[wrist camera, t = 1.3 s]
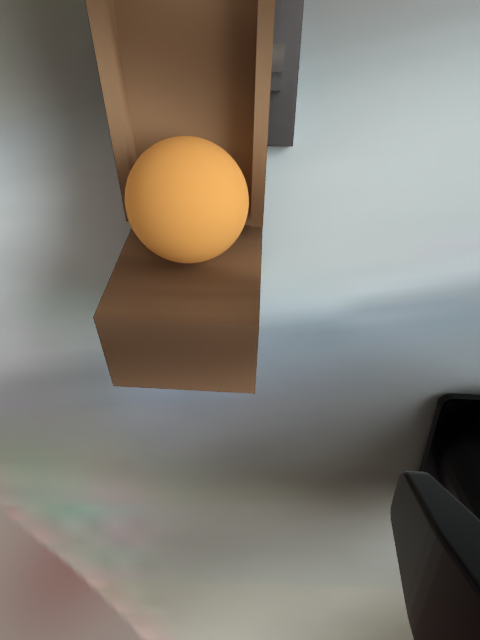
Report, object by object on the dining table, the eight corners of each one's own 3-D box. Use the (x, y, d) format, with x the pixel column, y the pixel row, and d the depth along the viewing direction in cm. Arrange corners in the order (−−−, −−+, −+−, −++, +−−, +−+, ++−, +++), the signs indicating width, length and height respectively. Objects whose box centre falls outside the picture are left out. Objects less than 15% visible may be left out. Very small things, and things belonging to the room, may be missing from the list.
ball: (249, 236, 16) (244, 288, 13) (146, 232, 16) (118, 282, 13) (252, 126, 14) (248, 156, 11) (135, 122, 14) (98, 151, 11)
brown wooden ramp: (267, 274, 18) (266, 394, 14) (143, 268, 19) (102, 385, 14) (322, -489, 7) (394, -1069, 3) (15, -487, 8) (-351, -1030, 3)
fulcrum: (292, 145, 16) (296, 150, 14) (118, 139, 16) (97, 143, 14) (304, -24, 14) (311, -46, 12) (105, -28, 14) (78, -51, 12)
